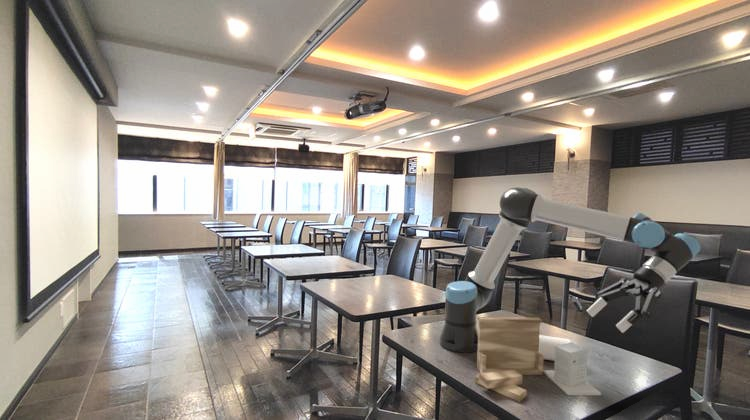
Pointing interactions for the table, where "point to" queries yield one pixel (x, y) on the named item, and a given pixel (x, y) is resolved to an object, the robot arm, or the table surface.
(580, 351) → the small box
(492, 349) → the birch rack
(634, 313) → the robot arm
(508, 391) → the lower pine offcut
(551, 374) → the white flat plate
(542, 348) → the white rounded block
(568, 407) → the table surface
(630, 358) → the table surface
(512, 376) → the upper pine offcut
